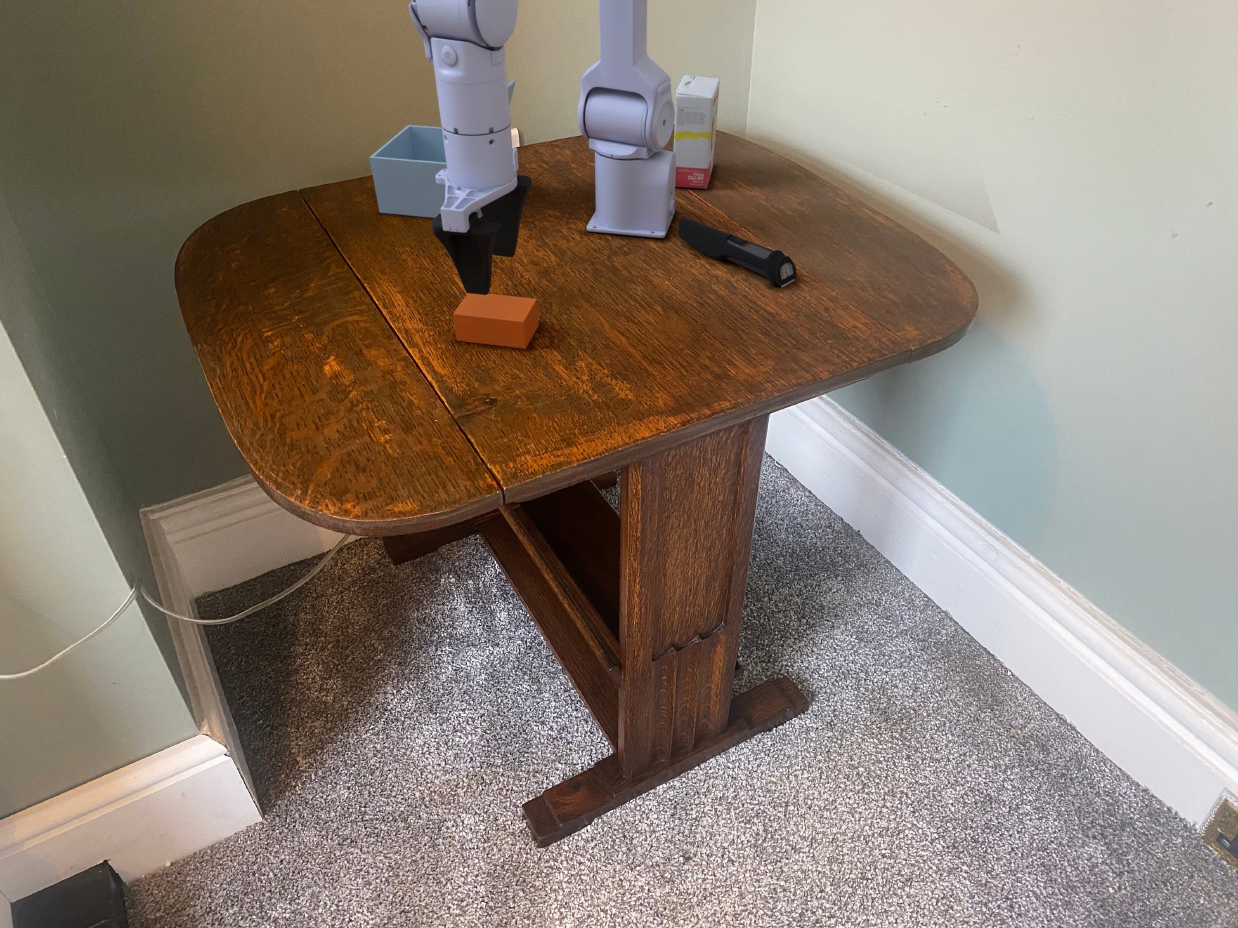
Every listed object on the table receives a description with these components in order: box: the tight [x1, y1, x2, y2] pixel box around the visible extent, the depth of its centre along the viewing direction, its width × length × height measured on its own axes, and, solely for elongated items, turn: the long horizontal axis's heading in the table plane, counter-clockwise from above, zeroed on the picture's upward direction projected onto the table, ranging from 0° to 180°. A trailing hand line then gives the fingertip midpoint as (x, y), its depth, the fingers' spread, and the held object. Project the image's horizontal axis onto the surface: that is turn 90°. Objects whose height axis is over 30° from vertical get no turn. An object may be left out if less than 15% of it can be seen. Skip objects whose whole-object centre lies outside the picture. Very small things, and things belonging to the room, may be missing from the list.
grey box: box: [368, 124, 483, 219], centre depth 107 cm, size 13×12×7 cm
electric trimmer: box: [677, 216, 798, 288], centre depth 95 cm, size 4×16×3 cm, turn 45°
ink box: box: [672, 74, 721, 190], centre depth 111 cm, size 9×5×12 cm, turn 169°
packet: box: [452, 293, 540, 350], centre depth 83 cm, size 7×4×3 cm, turn 78°
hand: (491, 273), depth 79 cm, fingers open, 7 cm apart
